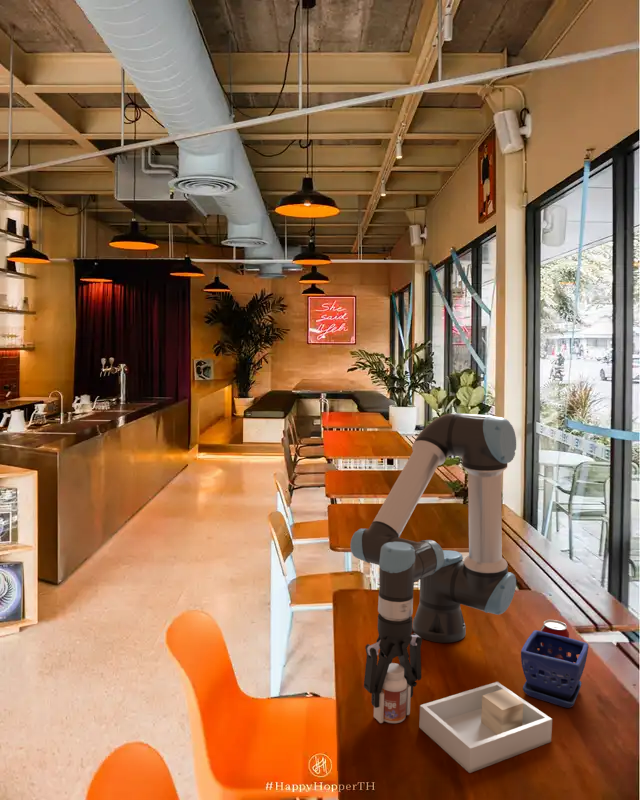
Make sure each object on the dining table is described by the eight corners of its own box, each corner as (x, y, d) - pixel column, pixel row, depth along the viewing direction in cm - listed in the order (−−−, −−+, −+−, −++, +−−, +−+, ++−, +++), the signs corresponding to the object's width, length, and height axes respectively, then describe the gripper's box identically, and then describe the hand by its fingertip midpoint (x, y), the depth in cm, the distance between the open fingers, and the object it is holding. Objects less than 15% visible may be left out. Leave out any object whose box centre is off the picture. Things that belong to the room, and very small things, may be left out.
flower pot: (577, 716, 137) (580, 665, 136) (517, 698, 144) (519, 649, 143) (587, 689, 149) (589, 642, 148) (530, 673, 156) (533, 628, 155)
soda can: (569, 678, 154) (571, 631, 153) (541, 674, 155) (543, 628, 154) (564, 664, 160) (566, 620, 159) (537, 661, 162) (539, 617, 161)
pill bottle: (372, 716, 136) (373, 668, 135) (387, 704, 140) (389, 658, 140) (396, 728, 132) (397, 678, 131) (411, 715, 136) (412, 667, 136)
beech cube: (501, 714, 136) (502, 688, 136) (522, 729, 131) (523, 702, 131) (481, 721, 134) (482, 695, 133) (501, 737, 128) (502, 710, 128)
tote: (419, 727, 132) (420, 705, 132) (496, 702, 142) (497, 681, 142) (469, 773, 118) (470, 748, 118) (551, 741, 128) (552, 719, 128)
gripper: (366, 629, 126) (363, 736, 128) (441, 613, 135) (437, 713, 137) (348, 615, 133) (345, 717, 135) (420, 600, 142) (417, 696, 144)
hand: (391, 715), depth 136 cm, fingers open, 6 cm apart
